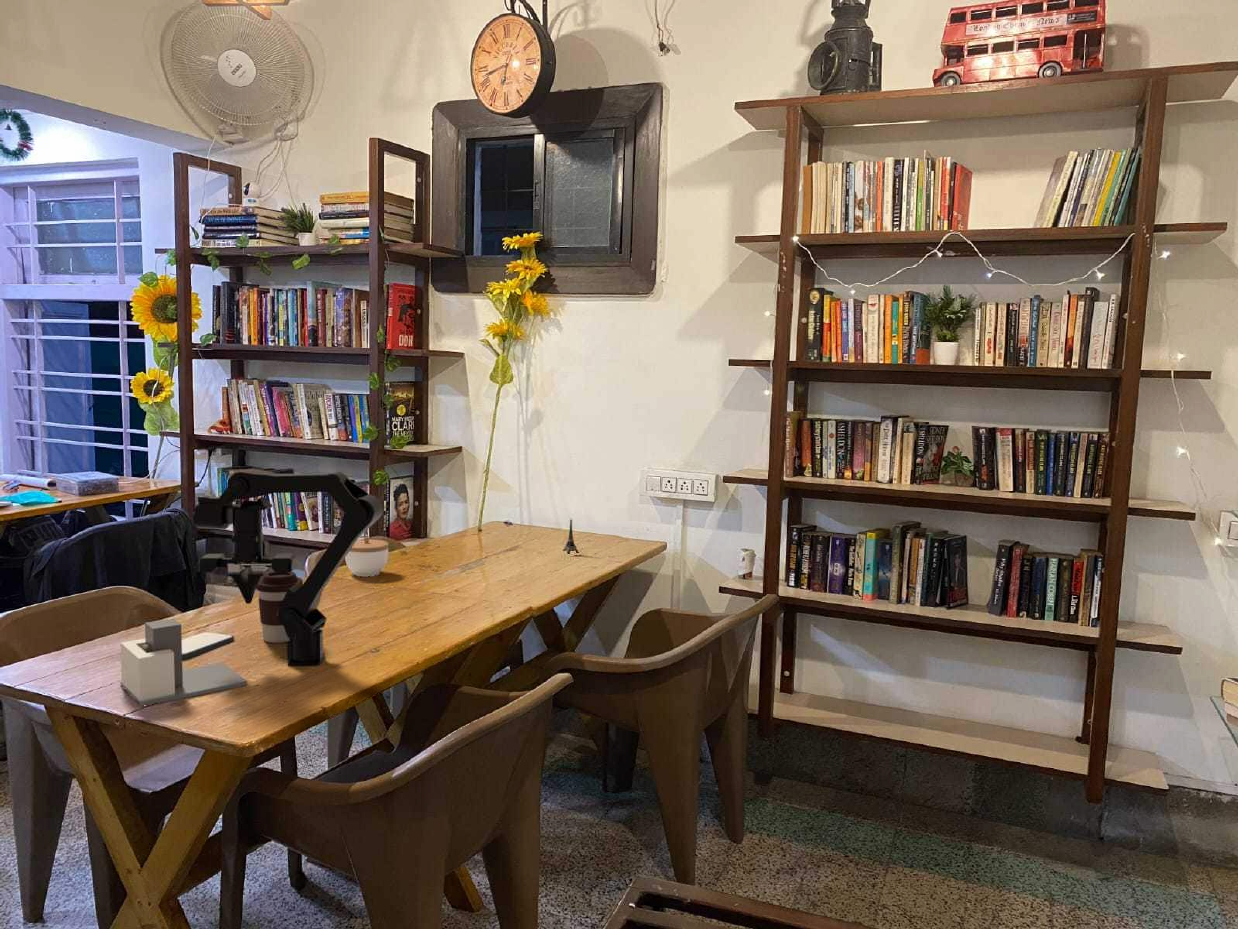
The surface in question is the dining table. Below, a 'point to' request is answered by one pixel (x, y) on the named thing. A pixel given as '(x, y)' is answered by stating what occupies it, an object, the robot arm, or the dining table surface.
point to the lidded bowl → (367, 557)
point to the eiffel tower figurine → (570, 542)
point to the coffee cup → (274, 603)
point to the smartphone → (203, 643)
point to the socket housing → (169, 676)
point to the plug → (166, 642)
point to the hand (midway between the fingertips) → (248, 603)
